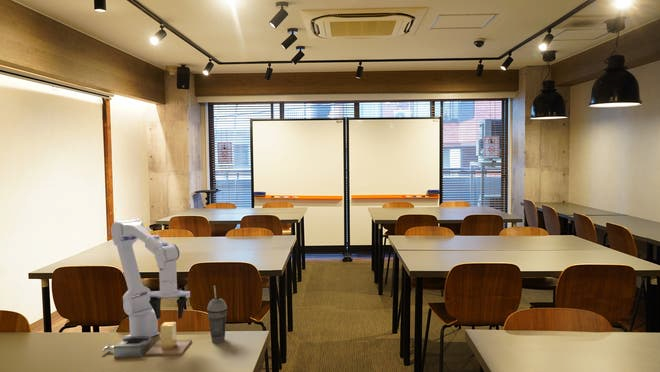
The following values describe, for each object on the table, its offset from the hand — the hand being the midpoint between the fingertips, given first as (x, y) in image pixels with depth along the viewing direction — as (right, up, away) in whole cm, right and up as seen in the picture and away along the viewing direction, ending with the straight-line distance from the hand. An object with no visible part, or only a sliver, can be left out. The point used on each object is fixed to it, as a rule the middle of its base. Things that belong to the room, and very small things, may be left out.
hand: (169, 318), depth 166 cm
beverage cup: (+16, -10, +6) cm, 20 cm away
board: (0, -10, -1) cm, 10 cm away
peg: (0, -10, -1) cm, 10 cm away
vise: (-14, -11, -3) cm, 18 cm away
